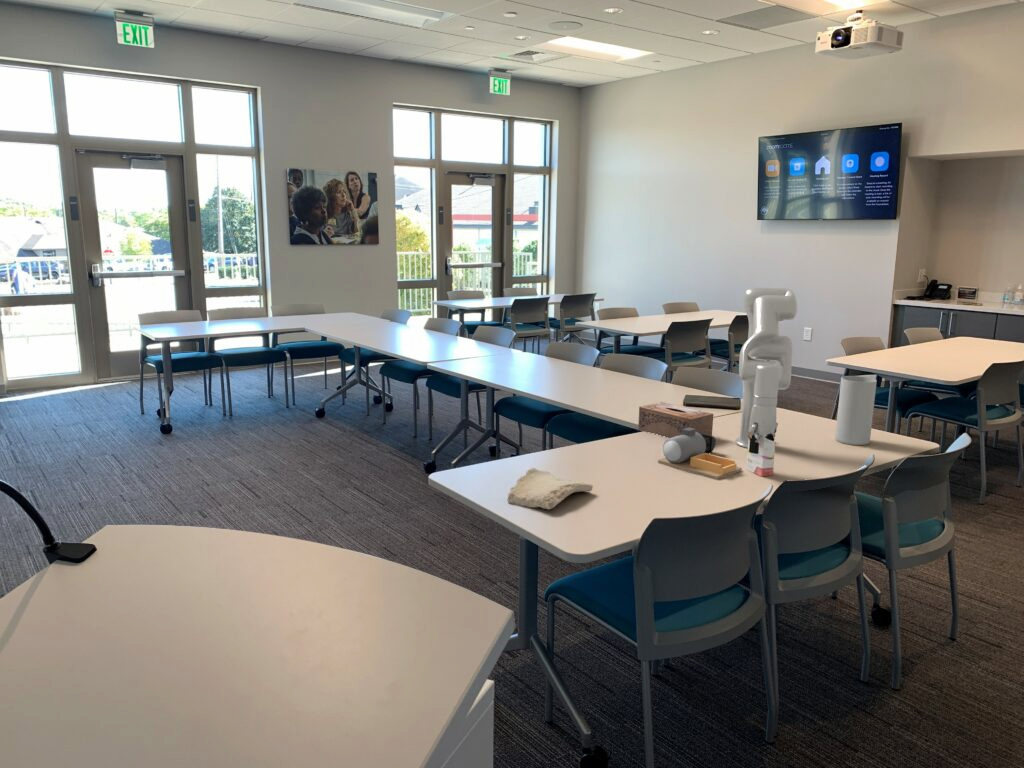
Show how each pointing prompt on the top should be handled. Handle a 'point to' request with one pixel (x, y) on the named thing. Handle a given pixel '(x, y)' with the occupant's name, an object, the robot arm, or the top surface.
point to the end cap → (709, 443)
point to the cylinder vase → (855, 410)
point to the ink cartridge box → (762, 458)
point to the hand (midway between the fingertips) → (761, 450)
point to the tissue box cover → (673, 419)
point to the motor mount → (695, 456)
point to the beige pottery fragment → (543, 489)
